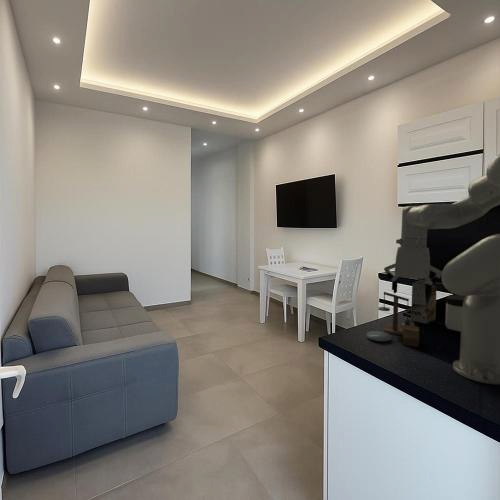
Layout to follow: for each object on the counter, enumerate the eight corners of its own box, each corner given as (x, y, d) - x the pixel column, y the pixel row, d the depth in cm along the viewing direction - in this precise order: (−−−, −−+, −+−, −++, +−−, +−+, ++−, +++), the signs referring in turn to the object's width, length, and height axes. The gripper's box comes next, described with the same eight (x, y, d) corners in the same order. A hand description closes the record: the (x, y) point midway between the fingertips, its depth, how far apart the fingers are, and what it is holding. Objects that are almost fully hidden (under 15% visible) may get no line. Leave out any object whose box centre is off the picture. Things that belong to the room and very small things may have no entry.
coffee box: (426, 324, 125) (428, 284, 124) (410, 320, 130) (411, 282, 129) (435, 319, 131) (437, 281, 130) (419, 316, 136) (421, 279, 135)
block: (417, 347, 102) (418, 331, 102) (402, 344, 105) (403, 328, 104) (418, 342, 106) (419, 327, 106) (404, 340, 109) (404, 324, 108)
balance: (412, 337, 111) (413, 296, 110) (376, 331, 118) (377, 292, 116) (413, 333, 115) (414, 293, 114) (379, 328, 121) (379, 290, 120)
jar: (473, 333, 114) (475, 301, 113) (447, 330, 118) (449, 299, 117) (467, 326, 123) (469, 295, 122) (443, 323, 126) (444, 294, 125)
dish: (389, 344, 105) (389, 340, 104) (364, 340, 109) (364, 336, 109) (392, 337, 111) (392, 333, 111) (369, 333, 116) (369, 329, 115)
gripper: (383, 243, 104) (381, 293, 106) (444, 245, 95) (440, 300, 97) (387, 241, 111) (385, 289, 112) (444, 243, 101) (441, 295, 103)
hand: (410, 294), depth 105 cm, fingers open, 9 cm apart
